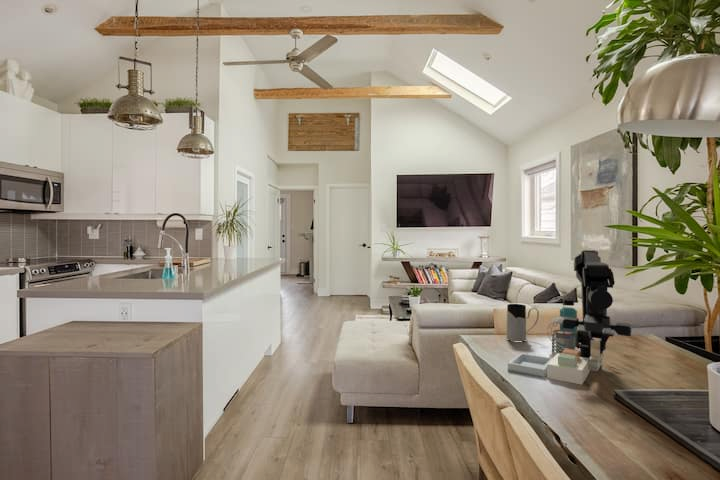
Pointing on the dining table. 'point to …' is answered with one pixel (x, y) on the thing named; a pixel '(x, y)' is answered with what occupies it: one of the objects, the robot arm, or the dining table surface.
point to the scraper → (595, 355)
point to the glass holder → (517, 322)
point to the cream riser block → (568, 370)
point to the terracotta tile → (572, 353)
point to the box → (529, 364)
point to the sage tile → (567, 360)
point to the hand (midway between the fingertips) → (595, 353)
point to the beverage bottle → (569, 313)
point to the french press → (561, 336)
